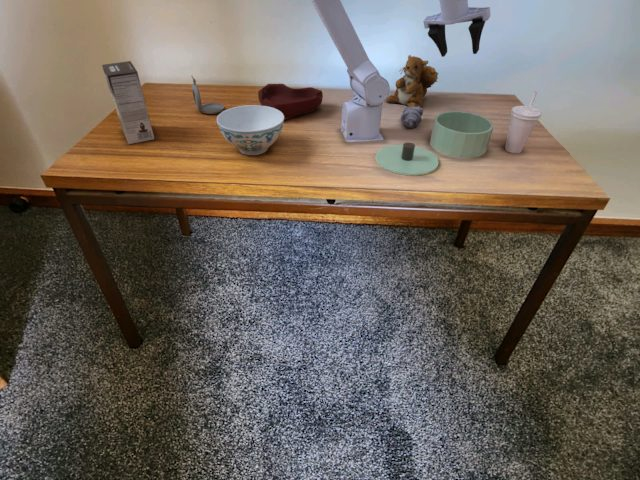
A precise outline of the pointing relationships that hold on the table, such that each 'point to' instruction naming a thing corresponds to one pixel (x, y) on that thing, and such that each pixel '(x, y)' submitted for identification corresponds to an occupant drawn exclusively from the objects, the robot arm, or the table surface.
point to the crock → (461, 134)
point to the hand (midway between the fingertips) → (460, 53)
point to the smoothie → (521, 126)
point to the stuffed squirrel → (414, 82)
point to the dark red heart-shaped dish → (290, 99)
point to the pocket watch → (206, 108)
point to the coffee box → (129, 101)
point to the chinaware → (251, 127)
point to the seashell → (411, 116)
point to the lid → (407, 159)
